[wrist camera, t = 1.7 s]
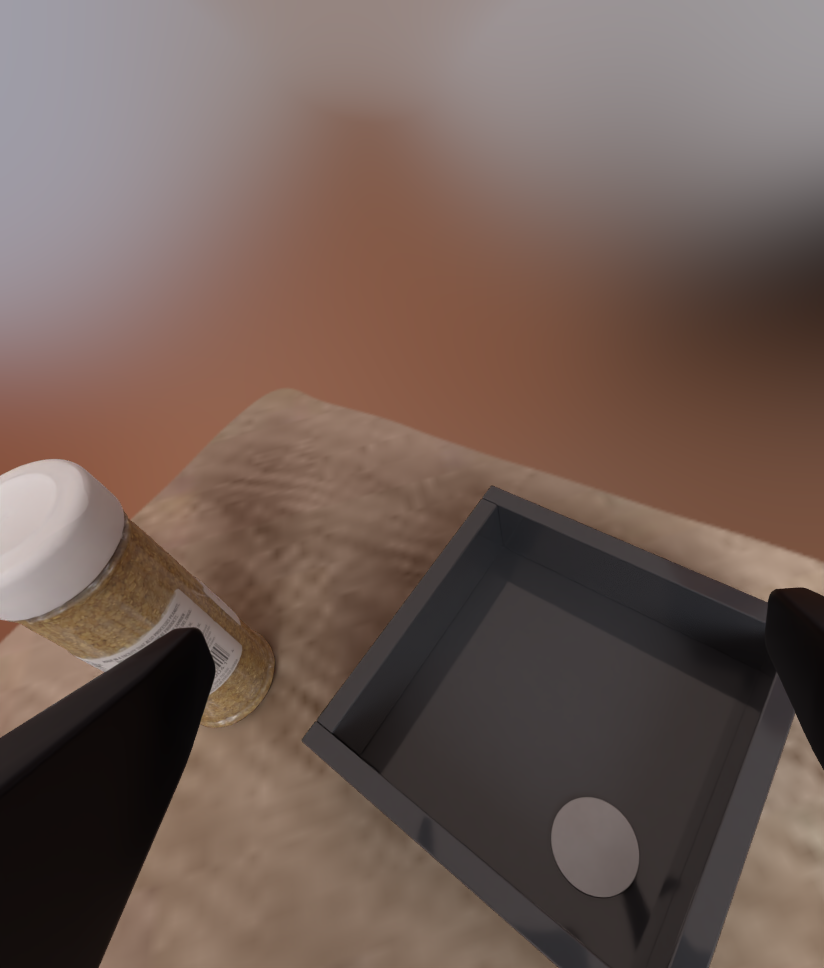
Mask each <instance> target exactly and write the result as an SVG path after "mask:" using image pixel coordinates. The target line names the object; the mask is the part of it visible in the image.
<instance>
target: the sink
mask: <svg viewBox="0 0 824 968" xmlns="http://www.w3.org/2000/svg"><path fill="white" fill-rule="evenodd" d="M767 608H768V602H765V601H763V600H760V599H758V598H756V597H753V596H751V595H749V594H746V593H744V592H742V591H739V590H737V589H735V588H732V587H730V586H728V585H725V584H723V583H720V582H718V581H716V580H713V579H711V578H709V577H706V576H704V575H702V574H699V573H697V572H695V571H692V570H690V569H688V568H685V567H683V566H680V565H678V564H676V563H673V562H671V561H669V560H666V559H664V558H662V557H659V556H657V555H655V554H652V553H650V552H648V551H645V550H643V549H640V548H638V547H636V546H633V545H631V544H629V543H626V542H624V541H622V540H619V539H617V538H615V537H612V536H610V535H608V534H605V533H603V532H600V531H598V530H596V529H593V528H591V527H589V526H586V525H584V524H582V523H579V522H577V521H575V520H572V519H570V518H568V517H565V516H563V515H560V514H558V513H556V512H553V511H551V510H549V509H546V508H544V507H542V506H539V505H537V504H535V503H532V502H530V501H528V500H525V499H523V498H520V497H518V496H516V495H513V494H511V493H509V492H506V491H504V490H502V489H499V488H497V487H495V486H491V487H490V488H489V489H488V491H487V492H486V493H485V495H484V496H483V499H481V500H480V502H479V503H478V504H477V506H476V507H475V508H474V510H473V511H472V512H471V514H470V515H469V516H468V518H467V519H466V520H465V522H464V523H463V524H462V526H461V527H460V528H459V530H458V531H457V533H456V534H455V535H454V537H453V538H452V539H451V541H450V542H449V543H448V545H447V546H446V547H445V549H444V550H443V551H442V553H441V554H440V555H439V557H438V558H437V559H436V561H435V562H434V563H433V565H432V566H431V567H430V569H429V570H428V571H427V573H426V574H425V575H424V577H423V578H422V579H421V581H420V582H419V583H418V585H417V586H416V587H415V589H414V590H413V591H412V593H411V594H410V595H409V597H408V598H407V599H406V601H405V602H404V603H403V605H402V606H401V608H400V609H399V610H398V612H397V613H396V614H395V616H394V617H393V618H392V620H391V621H390V622H389V624H388V625H387V626H386V628H385V629H384V630H383V632H382V633H381V634H380V636H379V637H378V638H377V640H376V641H375V642H374V644H373V645H372V646H371V648H370V649H369V650H368V652H367V653H366V654H365V656H364V657H363V658H362V660H361V661H360V662H359V664H358V665H357V666H356V668H355V669H354V670H353V672H352V673H351V674H350V676H349V677H348V678H347V680H346V681H345V683H344V684H343V685H342V687H341V688H340V689H339V691H338V692H337V693H336V695H335V696H334V697H333V699H332V700H331V701H330V703H329V704H328V705H327V707H326V708H325V709H324V711H323V712H322V713H321V715H320V716H319V717H318V719H317V721H316V722H314V724H313V725H312V726H311V728H310V729H309V731H308V732H307V733H306V735H305V736H304V737H303V739H302V742H303V743H304V744H305V745H306V746H307V747H308V748H310V749H311V750H312V751H313V752H314V753H315V754H316V755H318V756H319V757H320V758H321V759H322V760H323V761H324V762H326V763H327V764H328V765H329V766H330V767H331V768H332V769H333V770H335V771H336V772H337V773H338V774H339V775H340V776H341V777H343V778H344V779H345V780H346V781H347V782H348V783H349V784H350V785H352V786H353V787H354V788H355V789H356V790H357V791H358V792H360V793H361V794H362V795H363V796H364V797H365V798H366V799H367V800H369V801H370V802H371V803H372V804H373V805H374V806H375V807H377V808H378V809H379V810H380V811H381V812H382V813H383V814H385V815H386V816H387V817H388V818H389V819H390V820H391V821H392V822H394V823H395V824H396V825H397V826H398V827H399V828H400V829H402V830H403V831H404V832H405V833H406V834H407V835H408V836H409V837H411V838H412V839H413V840H414V841H415V842H416V843H417V844H419V845H420V846H421V847H422V848H423V849H424V850H425V851H426V852H428V853H429V854H430V855H431V856H432V857H433V858H434V859H436V860H437V861H438V862H439V863H440V864H441V865H442V866H444V867H445V868H446V869H447V870H448V871H449V872H450V873H451V874H453V875H454V876H455V877H456V878H457V879H458V880H459V881H461V882H462V883H463V884H464V885H465V886H466V887H467V888H468V889H470V890H471V891H472V892H473V893H474V894H475V895H476V896H478V897H479V898H480V899H481V900H482V901H483V902H484V903H485V904H487V905H488V906H489V907H490V908H491V909H492V910H493V911H495V912H496V913H497V914H498V915H499V916H500V917H501V918H503V919H504V920H505V921H506V922H507V923H508V924H509V925H510V926H512V927H513V928H514V929H515V930H516V931H517V932H518V933H520V934H521V935H522V936H523V937H524V938H525V939H526V940H527V941H529V942H530V943H531V944H532V945H533V946H534V947H535V948H537V949H538V950H539V951H540V952H541V953H542V954H543V955H544V956H546V957H547V958H548V959H549V960H550V961H551V962H552V963H554V964H555V965H556V966H557V967H558V968H709V967H710V964H711V961H712V958H713V955H714V952H715V949H716V946H717V943H718V940H719V937H720V934H721V931H722V928H723V926H724V923H725V920H726V917H727V914H728V911H729V908H730V905H731V902H732V899H733V896H734V893H735V890H736V887H737V884H738V881H739V878H740V875H741V872H742V869H743V866H744V863H745V861H746V858H747V855H748V852H749V849H750V846H751V843H752V840H753V837H754V834H755V831H756V828H757V825H758V822H759V819H760V816H761V813H762V810H763V807H764V804H765V801H766V799H767V796H768V793H769V790H770V787H771V784H772V781H773V778H774V775H775V772H776V769H777V766H778V763H779V760H780V757H781V754H782V751H783V748H784V745H785V742H786V739H787V737H788V734H789V731H790V728H791V725H792V722H793V719H794V716H795V711H794V709H793V706H792V704H791V702H790V700H789V698H788V695H787V693H786V691H785V689H784V687H783V684H782V682H781V680H780V678H779V676H778V673H777V671H776V669H775V667H774V665H773V662H772V660H771V658H770V656H769V654H768V651H767V648H766V644H765V637H764V636H765V625H766V617H767ZM580 797H594V798H598V799H602V800H604V801H606V802H608V803H610V804H611V805H613V806H614V807H616V808H617V809H618V810H619V811H620V812H621V813H622V814H623V815H624V816H625V817H626V819H627V820H628V821H629V823H630V824H631V826H632V828H633V830H634V832H635V835H636V837H637V841H638V845H639V852H640V862H639V868H638V872H637V875H636V877H635V879H634V881H633V882H632V884H631V885H630V886H629V887H628V888H627V889H626V890H625V891H624V892H623V893H621V894H619V895H617V896H614V897H611V898H596V897H591V896H589V895H586V894H584V893H582V892H580V891H579V890H577V889H576V888H574V887H573V886H572V885H571V884H570V883H569V882H568V881H567V880H566V879H565V877H564V876H563V875H562V873H561V872H560V870H559V868H558V866H557V864H556V862H555V859H554V856H553V853H552V848H551V829H552V825H553V821H554V819H555V817H556V815H557V813H558V812H559V810H560V809H561V808H562V807H563V806H564V805H565V804H567V803H568V802H570V801H571V800H574V799H576V798H580Z"/></svg>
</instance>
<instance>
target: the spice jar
mask: <svg viewBox="0 0 824 968" xmlns="http://www.w3.org/2000/svg"><path fill="white" fill-rule="evenodd" d="M0 620H7V621H9V622H17V623H20V624H22V625H23V626H25V627H27V628H29V629H30V630H32V631H34V632H36V633H38V634H39V635H41V636H43V637H45V638H47V639H49V640H51V641H52V642H54V643H56V644H57V645H59V646H61V647H63V648H65V649H66V650H67V651H68V652H69V653H71V654H72V655H74V656H75V657H77V658H79V659H81V660H82V661H84V662H86V663H88V664H90V665H92V666H94V667H96V668H98V669H100V670H101V671H103V672H106V671H108V670H109V669H111V668H112V667H114V666H115V665H117V664H119V663H120V662H122V661H123V660H125V659H127V658H128V657H130V656H131V655H133V654H135V653H136V652H138V651H139V650H141V649H143V648H144V647H146V646H147V645H149V644H151V643H152V642H154V641H155V640H157V639H158V638H160V637H162V636H163V635H165V634H166V633H168V632H170V631H171V630H173V629H176V628H188V627H196V628H198V629H200V630H201V631H202V633H203V635H204V638H205V640H206V642H207V645H208V647H209V650H210V652H211V655H212V657H213V660H214V663H215V668H216V673H215V679H214V682H213V685H212V688H211V691H210V694H209V697H208V700H207V703H206V707H205V710H204V713H203V716H202V719H201V722H200V724H201V725H203V726H206V727H213V728H218V727H225V726H229V725H232V724H234V723H236V722H238V721H240V720H242V719H243V718H245V717H246V716H247V715H248V714H249V713H251V712H252V711H253V710H254V709H255V708H256V707H257V706H258V705H259V704H260V702H261V701H262V700H263V699H264V697H265V696H266V694H267V691H268V690H269V688H270V685H271V682H272V678H273V673H274V665H275V659H274V655H273V652H272V649H271V647H270V645H269V644H268V643H267V641H266V640H265V639H264V638H263V637H262V635H260V634H259V633H257V632H256V631H253V630H251V629H250V628H249V627H248V626H247V625H246V624H245V623H244V622H243V621H241V620H240V619H239V618H238V616H237V615H236V614H235V612H234V611H233V610H232V609H231V608H230V607H229V606H228V605H226V604H225V603H224V602H223V601H222V600H221V599H220V598H219V597H218V596H217V595H216V594H215V593H213V592H212V591H211V590H210V589H209V588H208V587H207V586H206V585H205V584H204V583H202V582H201V581H200V580H199V579H197V578H196V577H194V576H192V575H191V574H190V573H189V572H188V571H187V570H186V569H185V568H183V566H181V565H180V564H179V563H178V562H177V561H176V560H175V559H174V558H173V557H171V556H170V555H169V554H168V553H167V552H166V551H165V550H164V549H163V548H162V547H161V546H160V545H158V544H157V543H156V542H155V541H154V540H153V539H152V538H151V537H150V536H148V535H147V534H146V533H145V532H144V531H143V530H141V529H140V528H139V527H138V526H137V525H136V524H135V523H133V522H132V521H130V519H128V516H127V514H126V513H125V512H124V510H123V509H122V506H121V504H120V502H119V500H118V499H117V498H116V497H115V496H114V495H113V494H112V493H111V492H110V491H109V490H108V489H107V488H106V487H104V486H103V485H102V484H101V483H100V482H99V481H98V480H96V479H95V478H94V477H93V476H92V475H91V474H90V473H89V472H87V471H86V470H85V469H84V468H82V467H81V466H80V465H78V464H76V463H74V462H70V461H68V460H62V459H48V460H40V461H36V462H32V463H29V464H26V465H22V466H20V467H17V468H15V469H13V470H11V471H9V472H7V473H5V474H3V475H1V476H0Z"/></svg>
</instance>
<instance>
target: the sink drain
mask: <svg viewBox="0 0 824 968" xmlns="http://www.w3.org/2000/svg"><path fill="white" fill-rule="evenodd" d="M551 848H552V853H553V856H554V859H555V862H556V864H557V866H558V868H559V870H560V872H561V873H562V875H563V876H564V877H565V879H566V880H567V881H568V882H569V883H570V884H571V885H572V886H573V887H574V888H576V889H577V890H579V891H580V892H582V893H584V894H586V895H589V896H591V897H596V898H611V897H614V896H617V895H619V894H621V893H623V892H624V891H625V890H626V889H627V888H628V887H629V886H630V885H631V884H632V882H633V881H634V879H635V877H636V875H637V872H638V868H639V862H640V852H639V845H638V841H637V837H636V835H635V832H634V830H633V828H632V826H631V824H630V823H629V821H628V820H627V819H626V817H625V816H624V815H623V814H622V813H621V812H620V811H619V810H618V809H617V808H616V807H614V806H613V805H611V804H610V803H608V802H606V801H604V800H602V799H598V798H594V797H580V798H576V799H574V800H571V801H570V802H568V803H567V804H565V805H564V806H563V807H562V808H561V809H560V810H559V812H558V813H557V815H556V817H555V819H554V821H553V825H552V829H551Z"/></svg>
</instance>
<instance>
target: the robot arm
mask: <svg viewBox="0 0 824 968" xmlns="http://www.w3.org/2000/svg"><path fill="white" fill-rule="evenodd" d="M764 637H765V644H766V648H767V651H768V654H769V656H770V658H771V660H772V662H773V665H774V667H775V669H776V671H777V673H778V676H779V678H780V680H781V682H782V684H783V687H784V689H785V691H786V693H787V695H788V698H789V700H790V702H791V704H792V706H793V709H794V711H795V713H796V715H797V718H798V720H799V722H800V724H801V726H802V729H803V731H804V733H805V735H806V737H807V739H808V741H809V743H810V745H811V747H812V750H813V752H814V753H815V755H816V757H817V759H818V761H819V762H820V764H821V766H822V768H823V770H824V596H822V595H820V594H818V593H816V592H813V591H811V590H809V589H806V588H785V589H775V590H774V591H772V592H771V594H770V596H769V599H768V608H767V617H766V625H765V636H764ZM215 673H216V668H215V663H214V660H213V657H212V655H211V652H210V650H209V647H208V645H207V642H206V640H205V638H204V635H203V633H202V631H201V630H200V629H198V628H196V627H188V628H176V629H173V630H171V631H170V632H168V633H166V634H165V635H163V636H162V637H160V638H158V639H157V640H155V641H154V642H152V643H151V644H149V645H147V646H146V647H144V648H143V649H141V650H139V651H138V652H136V653H135V654H133V655H131V656H130V657H128V658H127V659H125V660H123V661H122V662H120V663H119V664H117V665H115V666H114V667H112V668H111V669H109V670H108V671H106V672H104V673H103V674H101V675H100V676H98V677H96V678H95V679H93V680H92V681H90V682H88V683H87V684H85V685H84V686H82V687H80V688H79V689H77V690H76V691H74V692H73V693H71V694H69V695H68V696H66V697H65V698H63V699H61V700H60V701H58V702H57V703H55V704H53V705H52V706H50V707H49V708H47V709H45V710H44V711H42V712H41V713H39V714H38V715H36V716H34V717H33V718H31V719H30V720H28V721H26V722H25V723H23V724H22V725H20V726H18V727H17V728H15V729H14V730H12V731H10V732H9V733H7V734H6V735H4V736H2V737H1V738H0V968H99V965H100V963H101V961H102V958H103V956H104V954H105V952H106V949H107V947H108V945H109V942H110V940H111V938H112V935H113V933H114V931H115V928H116V926H117V924H118V921H119V919H120V917H121V915H122V912H123V910H124V908H125V905H126V903H127V901H128V898H129V896H130V894H131V891H132V889H133V887H134V885H135V882H136V880H137V878H138V875H139V873H140V871H141V868H142V866H143V864H144V861H145V859H146V857H147V855H148V852H149V850H150V848H151V845H152V843H153V841H154V838H155V836H156V834H157V831H158V829H159V827H160V824H161V822H162V820H163V818H164V815H165V813H166V811H167V808H168V806H169V804H170V801H171V799H172V797H173V794H174V792H175V790H176V788H177V785H178V783H179V781H180V778H181V776H182V773H183V771H184V768H185V766H186V764H187V761H188V758H189V755H190V752H191V750H192V747H193V744H194V740H195V737H196V734H197V731H198V728H199V725H200V722H201V719H202V716H203V713H204V710H205V707H206V703H207V700H208V697H209V694H210V691H211V688H212V685H213V682H214V679H215Z"/></svg>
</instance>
